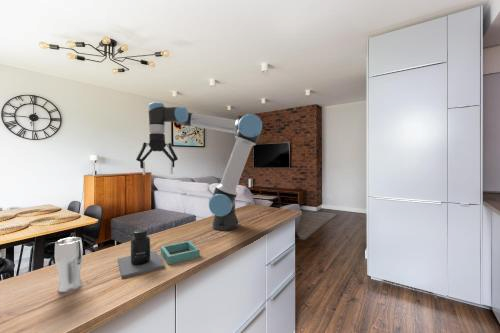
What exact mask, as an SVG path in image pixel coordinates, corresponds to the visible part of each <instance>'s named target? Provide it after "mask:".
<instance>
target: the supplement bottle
mask: <svg viewBox="0 0 500 333" xmlns="http://www.w3.org/2000/svg"><path fill="white" fill-rule="evenodd" d="M150 252H151V237H150V236H149V235H148V229H146V228H139V229H136V230H135V229H134V230H133V234H132V238H131V240H130V256H131V264H133V265H143V264H146V263H148V262H149V261H150Z"/></svg>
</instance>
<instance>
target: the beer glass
mask: <svg viewBox="0 0 500 333" xmlns="http://www.w3.org/2000/svg"><path fill="white" fill-rule="evenodd" d="M83 253H84V251H83V242H82V238H81V237H78V236H72V237H71V236H70V237H65V238H60V239H59V240H57V241H55V242H54V262H55V268H56V271H57V274H58V279H59V282H58V287H57V292H59V293H61V292H62V293H63V292H66V293H70V291H71V292H74V291H76V290H77V289H79V287H80V288H81V287H82V286H83V281H82V276H81V269H82V263H83V255H84V254H83ZM63 294H64V293H63Z"/></svg>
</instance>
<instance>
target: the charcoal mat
mask: <svg viewBox="0 0 500 333" xmlns="http://www.w3.org/2000/svg"><path fill="white" fill-rule="evenodd" d="M117 263H118V268H119V273H120V277H121V279H127V278H130V277H134V276H137V275H141V274H146V273H148V272H153V271H157V270H160V269H165V268H166V267H165V266H166V264H164V262H163V260H162V259H161V257H160V256H159V254H158V252H157V251H156V250H152V251H150V261H149V262H148V263H146V264H143V265H133V264H131V255H130V256H128V255H127V256H125V257H120V258H117Z"/></svg>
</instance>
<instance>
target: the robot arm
mask: <svg viewBox="0 0 500 333" xmlns="http://www.w3.org/2000/svg"><path fill="white" fill-rule="evenodd" d="M148 122H149V123H148V125H149V126H148V127H149V128H148V129H149V130H148V132H149V139H148V140H149V142H143V143H142V147H141V149H140V151H139V152H138V154H137V157H136V161H137V162H139V165H140V166H139V167H140V169H142V175H143V176H146V162H145V160H146V159H147V158H148V156H150V154H151V153H152V152H163V154H165V156H166V157H167V158H168V159H169V160H170V161H169V174H170V175H172V174H173V173H174V172H173V171H174V170H173V168H175V162H176V161H178V160H179V159H178V156H177V154H176V152H175V150H174V148H173V147H172V143H171V142H167V143H166V135H165V133H166V132H165V131H166V129H165V127H166V126H165V125H166V124H165V123H177V124H179V125H181V126H184V127H194V128H201V129H205V130H212V131H218V132H224V133H230V134H234V138H235V144H234V146H233V149H232V151H231V154H230V155H229V156H230V157H229V160H228V161H227V165H226V168H225V169H224V173H223V176H222V177H221V181H220V183H219V184H217V185H216V186H215V187H214V188H215V189H214V191H213V193H212V196H211V197H210V199H209V201H208V208H209V210H210V212H211V213H212V214H213V216H214V217H213V220H212V223H211V224H212V229H214V230H215V231H216V230H217V231H233V230H235V229H238V228H239V220H238V216H237V213H236V197H237V195H238V192H237V187H238V184H239V182H240V179H241V176H242V173H243V171H244V169H245V165H246V163H247V160H248V158H249V155H250V152H251V150H252V148H253V146H256V145H257V142H258V141H259V138H260V136H261V133H262V129H263V122H262V120H261V118H260V117H259V116H258V115H257V114H254V113H247V114H244V115H242V116H241V118H237V119H233V118H231V119H230V118H225V117H219V116H214V115H206V114H201V113H200V114H199V113H193V112H189V111H188V108H186V107H184V106H173V107H172V106H165V105H164V103H163V102H151V103H148ZM148 146H149V149H148V150H147V152H146V153H145V154H144V152H145V150H146V148H147V147H148ZM165 147H167V148H168V150H169V151H170V153H169V152H168V150H167V149H166V148H165ZM143 154H144V155H143Z"/></svg>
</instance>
